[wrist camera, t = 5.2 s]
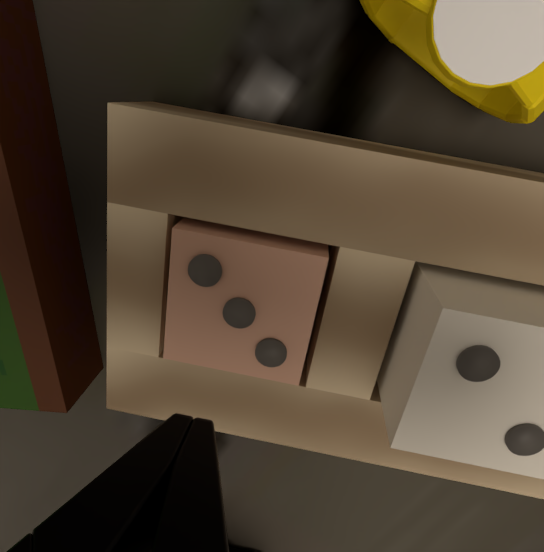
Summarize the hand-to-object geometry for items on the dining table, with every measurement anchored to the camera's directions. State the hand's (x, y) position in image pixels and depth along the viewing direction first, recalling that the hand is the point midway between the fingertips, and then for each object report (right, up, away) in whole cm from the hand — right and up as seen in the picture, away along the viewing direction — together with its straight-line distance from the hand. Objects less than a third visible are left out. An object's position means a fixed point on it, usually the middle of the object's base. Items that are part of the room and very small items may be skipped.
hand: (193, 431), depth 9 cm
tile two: (+9, +1, +6) cm, 11 cm away
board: (+9, +2, +9) cm, 12 cm away
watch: (+7, +11, +5) cm, 14 cm away
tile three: (+1, +3, +8) cm, 9 cm away
